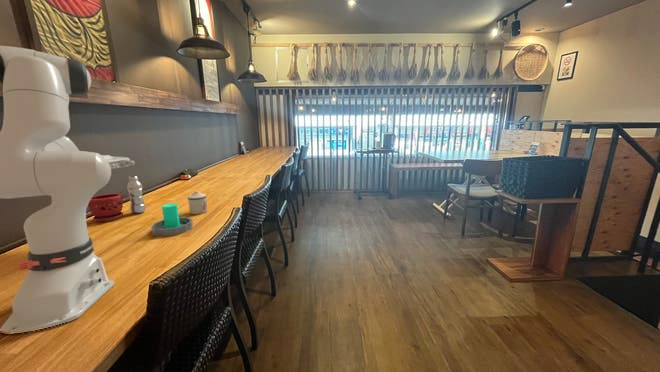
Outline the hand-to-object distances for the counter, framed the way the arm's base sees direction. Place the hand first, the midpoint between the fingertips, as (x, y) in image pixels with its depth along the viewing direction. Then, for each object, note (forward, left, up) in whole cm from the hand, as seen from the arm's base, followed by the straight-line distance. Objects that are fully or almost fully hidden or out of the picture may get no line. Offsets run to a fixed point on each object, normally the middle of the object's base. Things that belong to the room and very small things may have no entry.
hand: (124, 164), depth 106 cm
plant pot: (+26, +19, -30) cm, 44 cm away
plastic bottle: (+32, +8, -30) cm, 45 cm away
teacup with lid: (+24, -22, -30) cm, 45 cm away
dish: (-1, -14, -30) cm, 33 cm away
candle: (-1, -14, -29) cm, 33 cm away
